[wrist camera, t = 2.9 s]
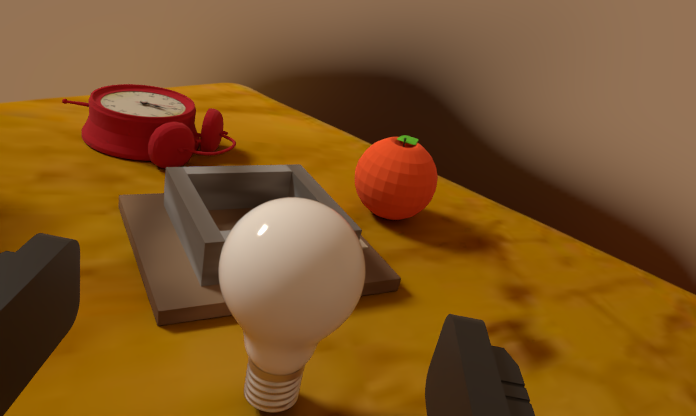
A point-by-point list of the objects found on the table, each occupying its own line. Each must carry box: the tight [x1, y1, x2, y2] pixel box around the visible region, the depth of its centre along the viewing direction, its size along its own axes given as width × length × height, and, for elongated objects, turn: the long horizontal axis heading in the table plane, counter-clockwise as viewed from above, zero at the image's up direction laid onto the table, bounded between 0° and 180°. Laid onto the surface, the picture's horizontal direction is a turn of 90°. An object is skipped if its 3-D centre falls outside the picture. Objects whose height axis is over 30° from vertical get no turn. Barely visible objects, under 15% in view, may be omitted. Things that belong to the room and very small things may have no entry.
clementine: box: [355, 135, 438, 220], centre depth 49 cm, size 8×7×7 cm
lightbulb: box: [218, 197, 365, 413], centre depth 26 cm, size 6×6×11 cm
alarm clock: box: [62, 84, 236, 169], centre depth 54 cm, size 10×6×15 cm
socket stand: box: [119, 165, 401, 326], centre depth 41 cm, size 16×14×4 cm
